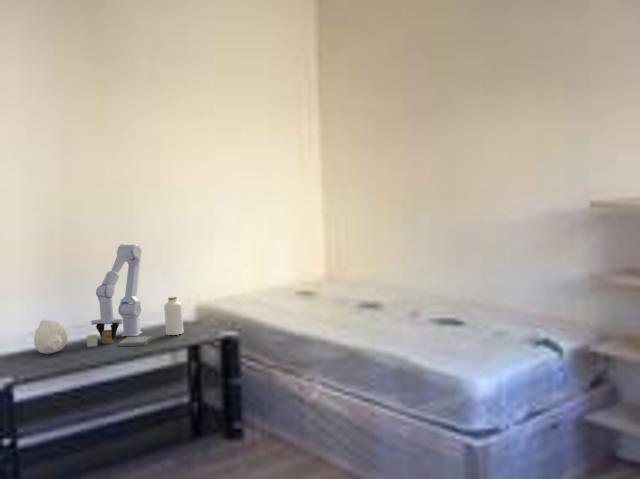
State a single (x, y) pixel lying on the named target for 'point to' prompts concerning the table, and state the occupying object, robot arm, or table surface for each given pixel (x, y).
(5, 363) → the table surface
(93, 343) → the pale green block
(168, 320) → the potion bottle
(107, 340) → the walnut block
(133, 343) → the grey square tile
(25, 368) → the table surface
